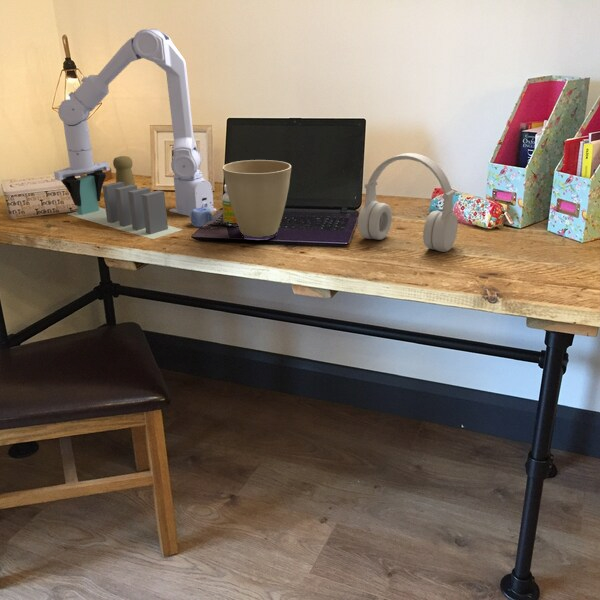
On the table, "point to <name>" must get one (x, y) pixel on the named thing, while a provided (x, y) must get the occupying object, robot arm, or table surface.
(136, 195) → the domino
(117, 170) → the cork
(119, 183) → the domino
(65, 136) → the robot arm
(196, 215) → the decorative dice
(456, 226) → the headphones
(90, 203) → the domino
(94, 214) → the mat
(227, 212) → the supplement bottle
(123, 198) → the domino
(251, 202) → the plant pot
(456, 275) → the table surface
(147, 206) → the domino
